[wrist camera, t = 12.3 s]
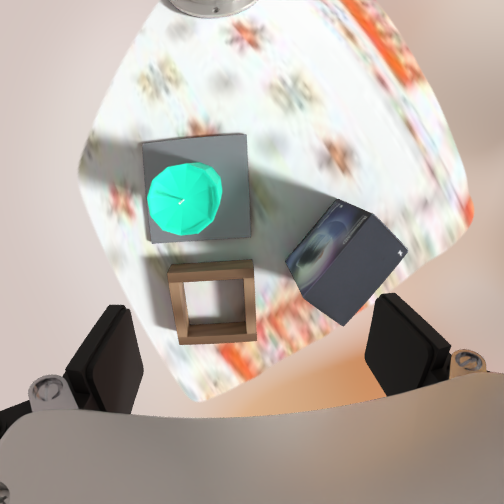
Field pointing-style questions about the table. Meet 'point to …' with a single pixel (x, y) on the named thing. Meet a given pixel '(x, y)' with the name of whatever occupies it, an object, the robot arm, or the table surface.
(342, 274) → the small box
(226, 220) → the slate mat
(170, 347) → the table surface
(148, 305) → the table surface
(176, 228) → the candle
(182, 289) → the holder
